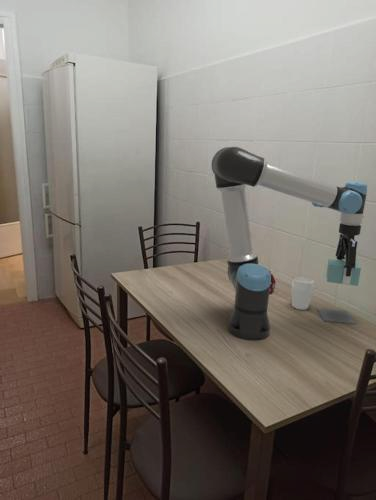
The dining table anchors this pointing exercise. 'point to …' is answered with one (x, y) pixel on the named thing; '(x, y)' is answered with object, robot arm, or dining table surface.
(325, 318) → the base mat
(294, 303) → the cup
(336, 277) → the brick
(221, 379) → the dining table surface
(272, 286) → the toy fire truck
